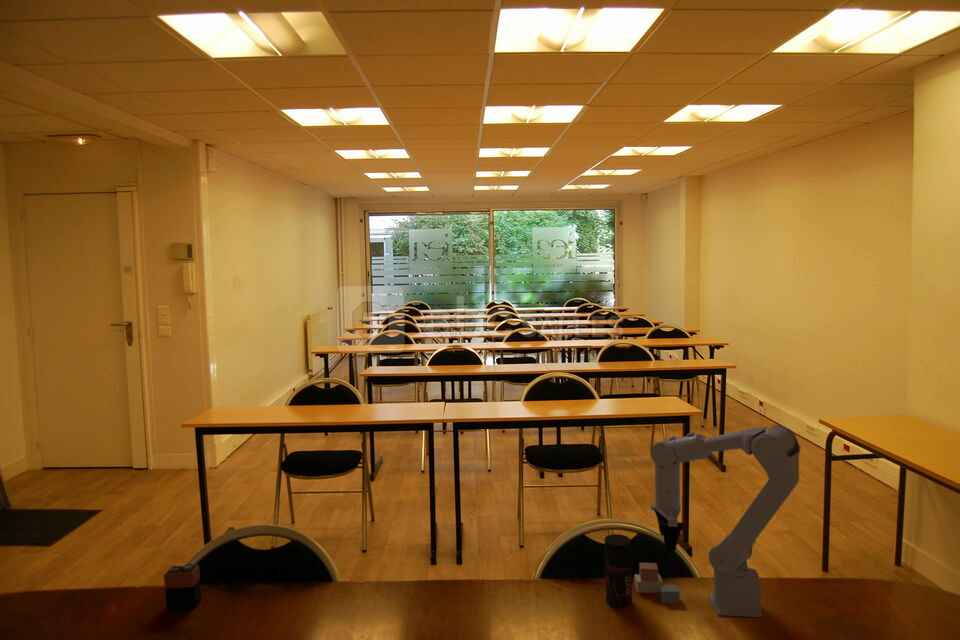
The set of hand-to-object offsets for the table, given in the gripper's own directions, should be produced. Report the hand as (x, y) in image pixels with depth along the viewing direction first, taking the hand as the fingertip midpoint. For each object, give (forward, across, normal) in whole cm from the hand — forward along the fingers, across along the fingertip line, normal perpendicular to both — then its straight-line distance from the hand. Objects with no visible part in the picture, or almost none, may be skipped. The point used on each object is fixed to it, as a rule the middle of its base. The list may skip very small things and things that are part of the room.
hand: (667, 542), depth 140 cm
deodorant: (+11, +9, -13) cm, 19 cm away
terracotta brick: (+8, +3, -5) cm, 10 cm away
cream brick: (+11, +3, -5) cm, 12 cm away
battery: (+11, +19, -118) cm, 120 cm away
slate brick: (+10, +7, -1) cm, 13 cm away
